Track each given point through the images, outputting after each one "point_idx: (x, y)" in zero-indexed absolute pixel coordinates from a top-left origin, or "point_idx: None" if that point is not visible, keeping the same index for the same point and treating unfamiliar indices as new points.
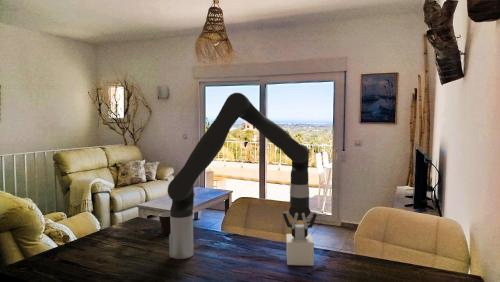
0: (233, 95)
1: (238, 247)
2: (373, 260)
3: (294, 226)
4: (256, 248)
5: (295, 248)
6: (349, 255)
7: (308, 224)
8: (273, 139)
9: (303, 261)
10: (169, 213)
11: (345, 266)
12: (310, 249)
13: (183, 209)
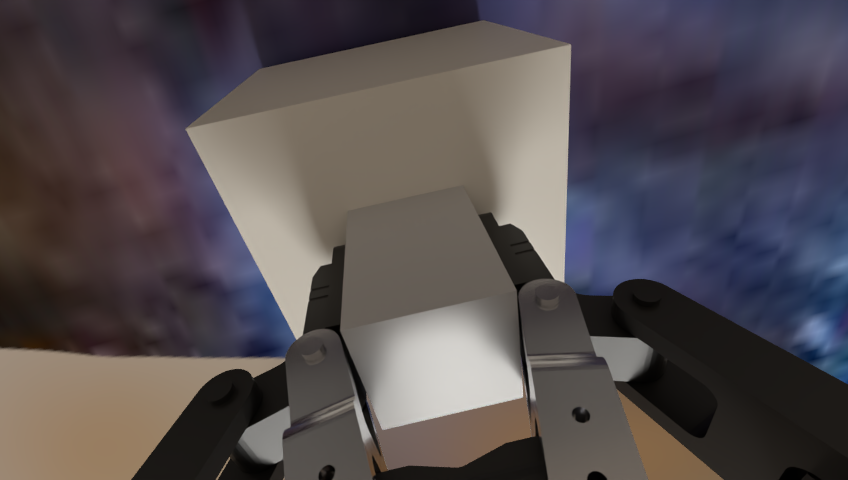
0: None
1: (790, 240)
2: None
3: (531, 315)
4: (684, 257)
5: (435, 56)
6: (86, 326)
7: (279, 428)
8: None
9: (344, 53)
10: None
11: (12, 145)
12: (254, 94)
13: None
